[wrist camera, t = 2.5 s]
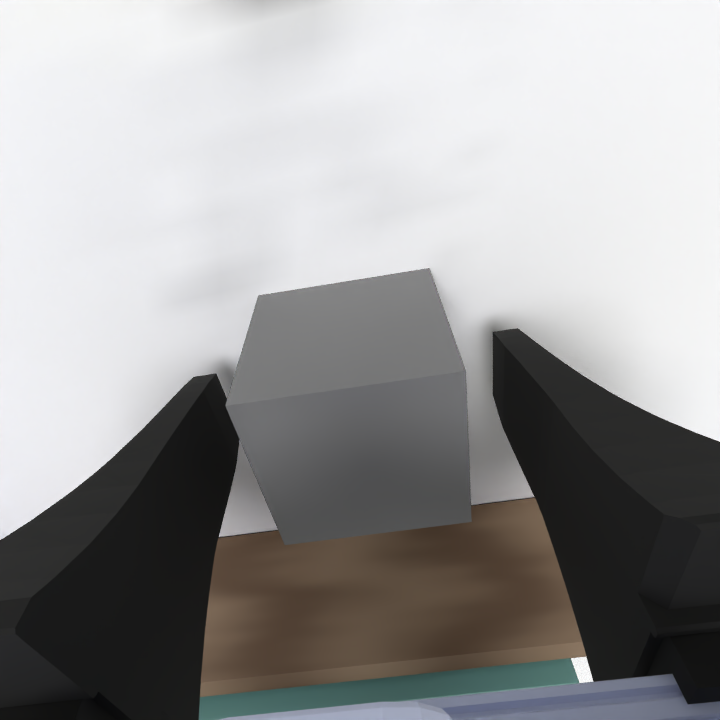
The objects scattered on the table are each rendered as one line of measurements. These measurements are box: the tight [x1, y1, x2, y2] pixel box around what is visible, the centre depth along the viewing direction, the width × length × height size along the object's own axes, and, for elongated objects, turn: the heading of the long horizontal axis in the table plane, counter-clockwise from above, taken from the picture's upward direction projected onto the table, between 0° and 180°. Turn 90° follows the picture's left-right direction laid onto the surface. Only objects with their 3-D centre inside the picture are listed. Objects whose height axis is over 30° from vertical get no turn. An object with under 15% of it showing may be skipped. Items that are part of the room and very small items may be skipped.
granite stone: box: [225, 268, 472, 545], centre depth 12 cm, size 4×4×4 cm
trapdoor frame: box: [200, 498, 586, 697], centre depth 21 cm, size 20×15×5 cm
